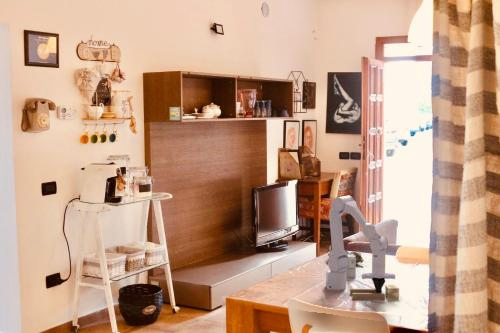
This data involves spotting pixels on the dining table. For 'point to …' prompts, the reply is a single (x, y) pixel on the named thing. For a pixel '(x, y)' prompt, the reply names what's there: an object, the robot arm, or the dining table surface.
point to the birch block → (391, 291)
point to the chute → (369, 295)
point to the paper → (358, 255)
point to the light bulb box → (351, 266)
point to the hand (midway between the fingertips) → (378, 294)
